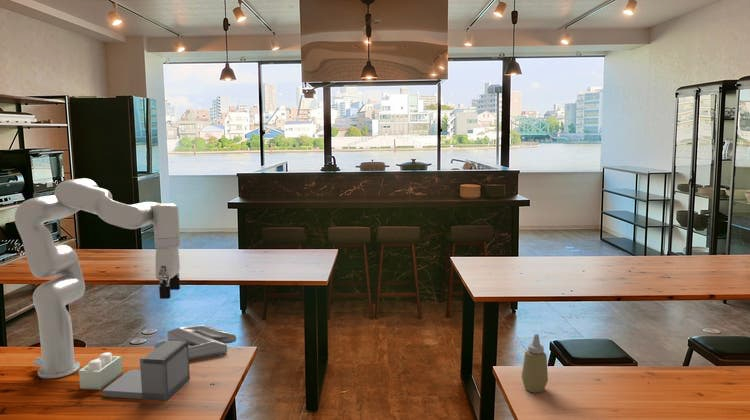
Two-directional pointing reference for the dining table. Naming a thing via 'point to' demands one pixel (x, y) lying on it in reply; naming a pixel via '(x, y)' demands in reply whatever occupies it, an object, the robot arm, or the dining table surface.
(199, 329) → the emblem
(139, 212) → the robot arm
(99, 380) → the egg tray
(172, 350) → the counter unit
